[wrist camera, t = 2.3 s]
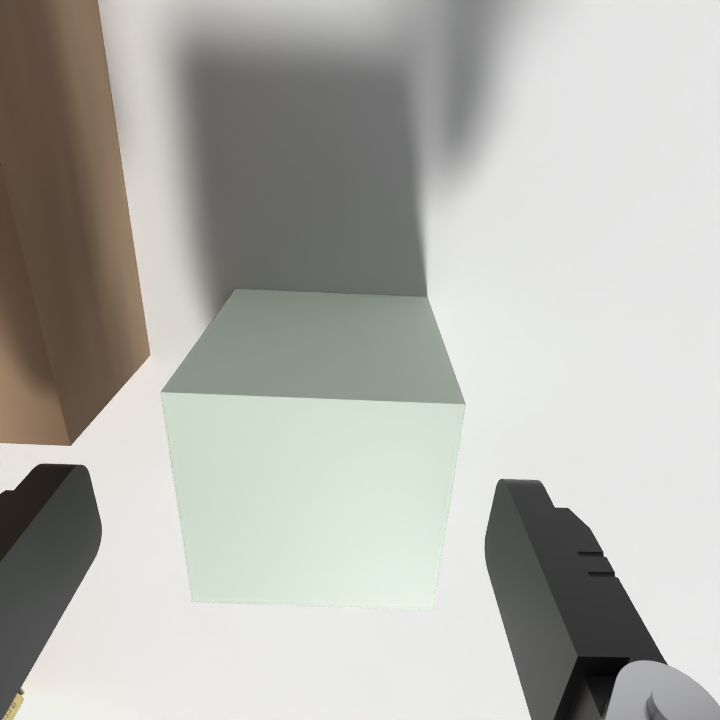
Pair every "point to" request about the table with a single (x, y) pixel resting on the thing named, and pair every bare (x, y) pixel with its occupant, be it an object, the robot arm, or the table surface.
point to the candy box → (14, 707)
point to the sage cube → (315, 450)
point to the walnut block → (61, 227)
